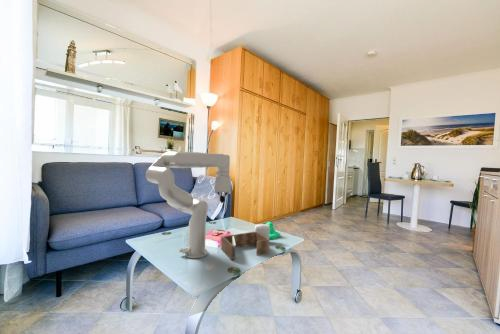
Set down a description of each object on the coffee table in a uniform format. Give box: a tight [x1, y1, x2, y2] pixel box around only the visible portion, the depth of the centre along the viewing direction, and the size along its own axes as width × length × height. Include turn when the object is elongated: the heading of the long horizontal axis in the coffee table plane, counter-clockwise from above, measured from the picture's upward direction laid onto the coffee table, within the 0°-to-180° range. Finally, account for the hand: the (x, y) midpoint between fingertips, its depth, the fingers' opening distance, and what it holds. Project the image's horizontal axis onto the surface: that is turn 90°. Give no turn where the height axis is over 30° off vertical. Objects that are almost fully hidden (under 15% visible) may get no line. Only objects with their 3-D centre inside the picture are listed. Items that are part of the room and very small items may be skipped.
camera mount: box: [265, 221, 281, 240], centre depth 156 cm, size 12×8×10 cm, turn 125°
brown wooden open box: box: [220, 230, 270, 261], centre depth 130 cm, size 24×16×8 cm, turn 119°
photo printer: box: [254, 223, 270, 240], centre depth 145 cm, size 10×4×12 cm, turn 98°
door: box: [232, 236, 237, 260], centre depth 126 cm, size 15×2×8 cm, turn 9°
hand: (222, 202), depth 139 cm, fingers closed
